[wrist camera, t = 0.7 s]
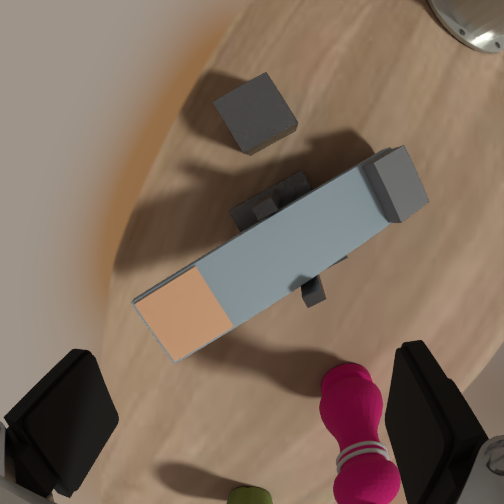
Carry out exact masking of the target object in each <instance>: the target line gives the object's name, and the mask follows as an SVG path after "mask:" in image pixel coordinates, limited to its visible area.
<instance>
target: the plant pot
mask: <svg viewBox="0 0 504 504" xmlns="http://www.w3.org/2000/svg"><path fill="white" fill-rule="evenodd" d="M227 504H273V503H272V497H271V495H270V493H269V492H268V491H266V490H264V489H261V488H257V487H250V488H246V487H239V488H236V489H234V490H233V491H232V492H231V494H230V496H229V499H228V501H227Z"/></svg>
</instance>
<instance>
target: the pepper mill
mask: <svg viewBox="0 0 504 504" xmlns="http://www.w3.org/2000/svg"><path fill="white" fill-rule="evenodd" d="M321 391H322V398H321V401H320V406H319V410H320V415H321V418H322V421H323V423H324V425H325V426H326V428H327V429H328V430H329V432H330V433H331V434H332V435H333V436H334V437H335V439H336V440H337V441H338V443H339V447H340V454H339V455H338V456H337V459H336V465H337V473H338V475H337V477H336V479H335V481H334V486H333V492H334V497H335V500H336V501H337V503H338V504H388V503H390V502H391V501H392V500H393V499H394V498H395V496H396V495H397V493H398V491H399V488H400V482H401V478H400V473H399V470H398V468H397V467H396V466H395V464H394V463H393V462H391V461H389V459H390V458H389V454H388V450H387V447H386V446H385V445H384V444H383V443H380V441H379V438H378V433H377V430H378V425H379V421H380V418H381V415H382V409H383V401H382V395H381V392H380V390H379V388H378V387H377V386H376V385H375V384H374V383H373V382H372V379H371V376H370V374H369V372H368V371H367V369H366V368H364V367H363V366H361V365H358V364H352V363H350V364H343V365H339V366H337V367H335V368H333V369H331V370H330V371H329V372H328V373H327V374H326V375H325V377H324V378H323V380H322V383H321Z"/></svg>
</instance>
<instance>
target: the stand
mask: <svg viewBox="0 0 504 504" xmlns="http://www.w3.org/2000/svg"><path fill="white" fill-rule="evenodd" d="M312 190H313V189H312V188H311V186H310V184H309V182H308V180H307V178H306V177H305V175H304V173H303V171H302V170H301V171H299V172H297V173H296V174H294V175H292V176H290V177H288V178H286V179H285V180H283V181H281V182H279V183H277V184H275V185H274V186H272V187H270V188H268V189H266V190H265V191H263V192H261V193H259V194H257V195H256V196H254V197H252V198H250V199H249V200H247V201H245V202H243V203H242V204H240V205H238V206H236V207H235V208H233V209H231V210H230V211H229V212H230V214H231V216H232V218H233V219H234V221H235V223H236V224H237V226H238V228H239V230H240V231H241V232H243V231H244V230H246V229H248V228H249V227H251V226H253V225H254V224H256V223H258V222H259V221H261V220H263V219H264V218H266V217H268V216H269V215H271V214H273V213H274V212H276V211H278V210H279V209H281V208H283V207H285V206H286V205H288V204H290V203H291V202H293V201H295V200H296V199H298V198H300V197H301V196H303V195H305V194H307V193H308V192H310V191H312ZM346 258H348V257H347V255H346V256H344V257H343V258H341V259H340V260H338V261H337V262H335V263H334V264H333V265H335V264H337V263H338V262H340V261H342V260H344V259H346ZM333 265H331V266H333ZM331 266H330V267H331ZM328 268H329V267H328ZM301 292H302V298H303V300H304V302H305V304H306V306H307V307H308V308H309V307H311V306H313V305H315V304H317V303H319V302H321V301H323V300H325V299H326V296H325V293H324V289H323V286H322V283H321V279H320V276H319V274H318V275H316V276H315V277H313V278H312V279H310V280H309V281H307V282H306V283H304V284H303V285H301Z"/></svg>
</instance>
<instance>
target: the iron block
mask: <svg viewBox="0 0 504 504" xmlns="http://www.w3.org/2000/svg"><path fill="white" fill-rule="evenodd" d="M213 104H214V106H215V107H216V109H217V111H218V112H219V114H220V115H221V117H222V119H223V120H224V122H225V124H226V125H227V127H228V129H229V130H230V132H231V134H232V135H233V137H234V139H235V140H236V142H237V144H238V145H239V147H240V149H241V150H242V152H243V153H244V154H247V155H250V156H251V155H253V154H255V153H257V152H258V151H260V150H262V149H264V148H266V147H267V146H269V145H271V144H273V143H275V142H276V141H278V140H280V139H282V138H284V137H286V136H287V135H289V134H291V133H293V132H295V131H296V129H297V126H298V121H297V120H296V118H295V116H294V115H293V113H292V112H291V110H290V108H289V107H288V105H287V103H286V102H285V100H284V99H283V97H282V95H281V94H280V92H279V91H278V89H277V88H276V86H275V84H274V83H273V81H272V80H271V78H270V77H269V75H268V74H267V72H265V73H263V74H261V75H259V76H257V77H256V78H254V79H252V80H250V81H248V82H246V83H245V84H243V85H241V86H239V87H237V88H236V89H234V90H232V91H230V92H229V93H227V94H225V95H224V96H222V97H220V98H218V99H217V100H215V101H213Z"/></svg>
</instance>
